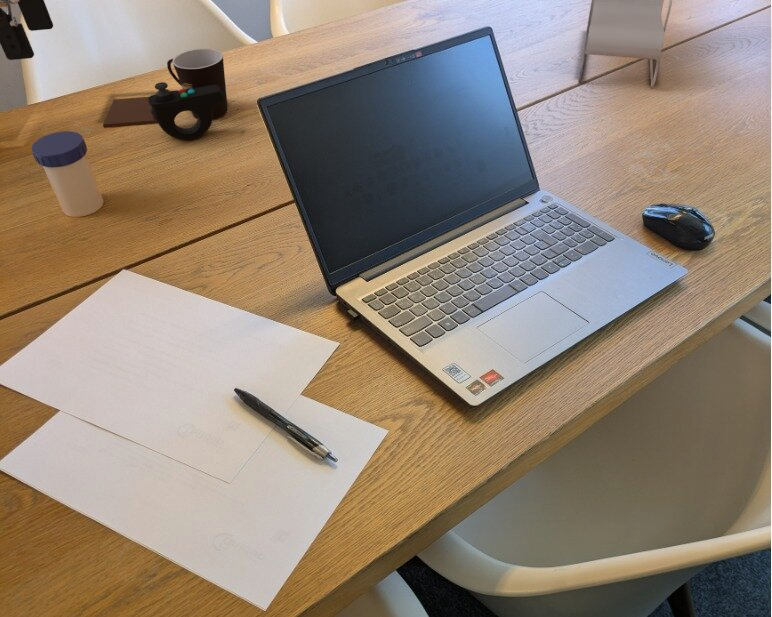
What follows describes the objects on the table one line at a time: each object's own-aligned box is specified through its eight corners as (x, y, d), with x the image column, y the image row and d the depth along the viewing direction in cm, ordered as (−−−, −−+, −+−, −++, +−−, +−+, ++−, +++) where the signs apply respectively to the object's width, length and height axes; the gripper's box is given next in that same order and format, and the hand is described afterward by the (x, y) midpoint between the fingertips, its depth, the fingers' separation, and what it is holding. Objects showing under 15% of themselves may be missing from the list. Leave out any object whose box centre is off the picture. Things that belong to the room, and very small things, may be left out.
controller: (158, 137, 115) (142, 82, 108) (228, 123, 118) (216, 68, 111) (161, 149, 112) (144, 93, 105) (233, 134, 115) (221, 78, 108)
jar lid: (30, 169, 91) (24, 157, 90) (43, 144, 96) (38, 133, 95) (81, 165, 92) (76, 153, 90) (92, 140, 97) (87, 129, 95)
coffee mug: (241, 114, 120) (230, 60, 113) (197, 128, 117) (183, 73, 110) (215, 91, 127) (204, 39, 120) (173, 104, 124) (159, 51, 117)
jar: (58, 218, 98) (30, 158, 91) (68, 196, 102) (42, 137, 95) (99, 215, 98) (75, 155, 91) (107, 193, 102) (84, 134, 95)
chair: (651, 41, 138) (676, -64, 124) (652, 94, 120) (682, -21, 107) (585, 36, 141) (603, -66, 127) (577, 87, 123) (596, -25, 110)
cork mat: (103, 127, 118) (102, 124, 118) (114, 102, 125) (113, 99, 125) (160, 123, 119) (159, 119, 118) (167, 98, 126) (166, 95, 125)
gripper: (-40, -124, 80) (20, 21, 91) (-98, -90, 67) (-20, 73, 79) (24, -129, 80) (76, 16, 92) (-22, -96, 67) (44, 67, 79)
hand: (32, 43), depth 85 cm, fingers open, 9 cm apart
